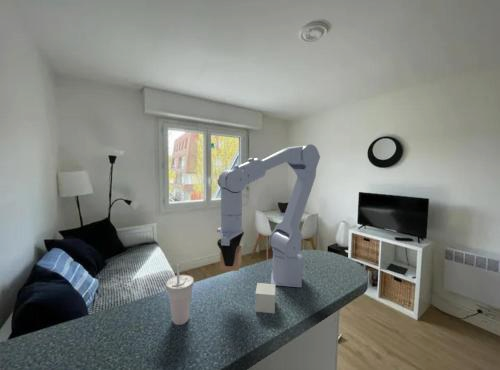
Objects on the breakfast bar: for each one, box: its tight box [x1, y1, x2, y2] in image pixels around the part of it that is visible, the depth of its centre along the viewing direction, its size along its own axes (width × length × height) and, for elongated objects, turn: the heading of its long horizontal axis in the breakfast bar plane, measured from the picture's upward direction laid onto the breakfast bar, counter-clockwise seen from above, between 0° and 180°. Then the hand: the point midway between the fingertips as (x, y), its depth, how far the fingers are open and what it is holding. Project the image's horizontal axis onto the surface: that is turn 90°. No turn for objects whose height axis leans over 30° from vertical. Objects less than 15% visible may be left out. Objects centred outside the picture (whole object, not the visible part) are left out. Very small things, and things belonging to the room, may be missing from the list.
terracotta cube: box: [219, 245, 243, 272], centre depth 62 cm, size 5×5×5 cm
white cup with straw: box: [165, 263, 195, 326], centre depth 53 cm, size 6×6×14 cm
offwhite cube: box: [254, 282, 276, 314], centre depth 58 cm, size 5×5×5 cm
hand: (231, 261), depth 62 cm, fingers closed on terracotta cube, 5 cm apart
